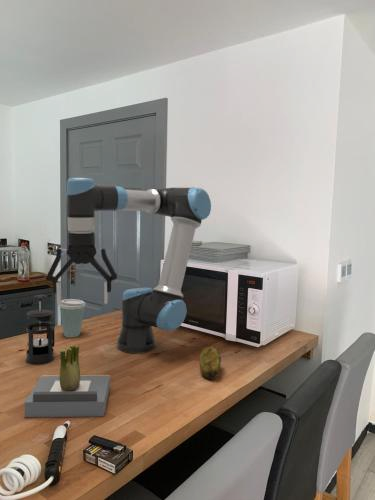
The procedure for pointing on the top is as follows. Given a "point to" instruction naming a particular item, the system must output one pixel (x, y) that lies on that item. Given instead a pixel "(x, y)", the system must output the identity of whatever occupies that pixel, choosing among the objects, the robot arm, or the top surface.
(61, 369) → the fennel bulb
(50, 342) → the french press
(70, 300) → the disposable coffee cup
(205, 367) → the olive green oval lump
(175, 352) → the top surface
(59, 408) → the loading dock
